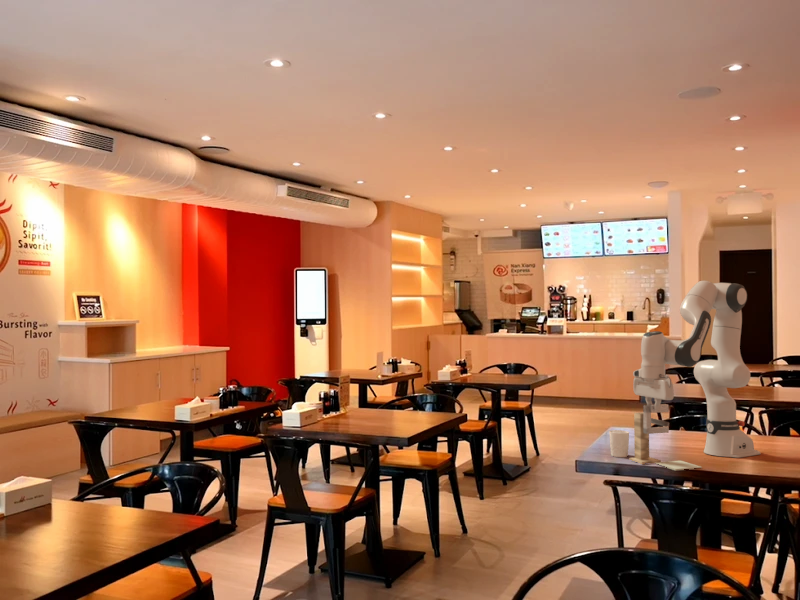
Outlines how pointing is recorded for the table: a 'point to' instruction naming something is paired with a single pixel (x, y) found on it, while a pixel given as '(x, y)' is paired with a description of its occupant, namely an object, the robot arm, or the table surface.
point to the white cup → (619, 443)
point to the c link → (647, 419)
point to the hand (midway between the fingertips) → (653, 409)
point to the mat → (678, 465)
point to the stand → (643, 440)
